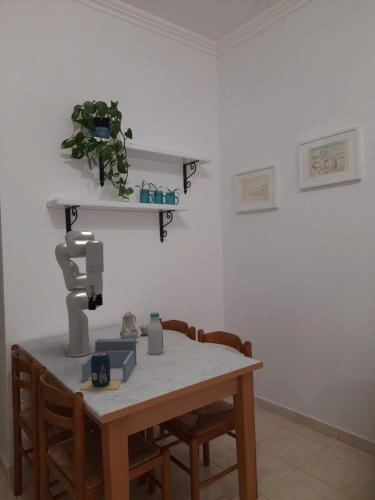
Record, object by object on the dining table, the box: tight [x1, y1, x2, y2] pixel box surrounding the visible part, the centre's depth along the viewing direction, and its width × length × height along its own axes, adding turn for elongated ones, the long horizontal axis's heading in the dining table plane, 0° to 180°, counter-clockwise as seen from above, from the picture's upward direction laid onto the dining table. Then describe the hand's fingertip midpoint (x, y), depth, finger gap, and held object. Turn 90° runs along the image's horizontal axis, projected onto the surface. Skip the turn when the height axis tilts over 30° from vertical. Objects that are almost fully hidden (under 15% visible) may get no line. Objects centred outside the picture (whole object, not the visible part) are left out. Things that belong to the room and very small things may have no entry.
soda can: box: [90, 351, 111, 388], centre depth 136 cm, size 7×7×12 cm
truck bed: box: [81, 338, 138, 383], centre depth 151 cm, size 17×22×12 cm
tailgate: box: [79, 379, 123, 391], centre depth 137 cm, size 14×1×9 cm
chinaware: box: [119, 310, 149, 340], centre depth 208 cm, size 28×17×17 cm, turn 161°
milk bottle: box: [147, 311, 164, 356], centre depth 179 cm, size 8×8×20 cm
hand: (95, 307), depth 156 cm, fingers open, 9 cm apart
